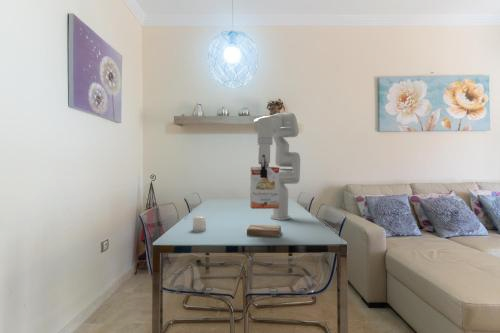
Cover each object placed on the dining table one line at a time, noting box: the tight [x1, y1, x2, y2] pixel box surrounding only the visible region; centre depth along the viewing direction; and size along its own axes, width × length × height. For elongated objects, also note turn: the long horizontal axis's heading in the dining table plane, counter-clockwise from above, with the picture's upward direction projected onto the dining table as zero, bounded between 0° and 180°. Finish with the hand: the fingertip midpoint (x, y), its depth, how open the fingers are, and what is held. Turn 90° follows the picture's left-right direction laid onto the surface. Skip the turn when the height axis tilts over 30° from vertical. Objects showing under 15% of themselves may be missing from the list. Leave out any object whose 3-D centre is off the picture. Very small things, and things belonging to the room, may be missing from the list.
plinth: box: [246, 224, 282, 238], centre depth 153 cm, size 11×16×3 cm
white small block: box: [192, 215, 207, 232], centre depth 160 cm, size 7×7×7 cm
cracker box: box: [249, 166, 280, 210], centre depth 152 cm, size 14×6×21 cm, turn 97°
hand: (264, 176), depth 152 cm, fingers closed on cracker box, 7 cm apart
